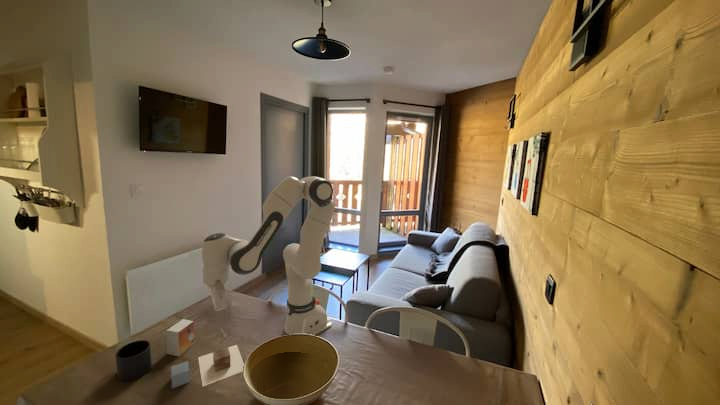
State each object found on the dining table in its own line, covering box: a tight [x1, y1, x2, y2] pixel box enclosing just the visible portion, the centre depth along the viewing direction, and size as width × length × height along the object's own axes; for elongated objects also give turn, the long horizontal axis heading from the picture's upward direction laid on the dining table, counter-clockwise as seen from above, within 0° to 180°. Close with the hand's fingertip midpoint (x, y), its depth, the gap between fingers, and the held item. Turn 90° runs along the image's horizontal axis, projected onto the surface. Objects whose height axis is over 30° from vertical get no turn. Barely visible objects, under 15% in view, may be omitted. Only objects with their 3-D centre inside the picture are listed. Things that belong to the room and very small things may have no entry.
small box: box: [165, 318, 196, 357], centre depth 108 cm, size 8×6×10 cm
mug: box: [115, 339, 153, 383], centre depth 96 cm, size 9×12×9 cm
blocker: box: [212, 346, 230, 372], centre depth 101 cm, size 5×5×5 cm
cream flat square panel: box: [198, 344, 245, 388], centre depth 102 cm, size 14×16×1 cm
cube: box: [170, 360, 191, 389], centre depth 93 cm, size 5×5×5 cm
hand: (217, 309), depth 105 cm, fingers closed
